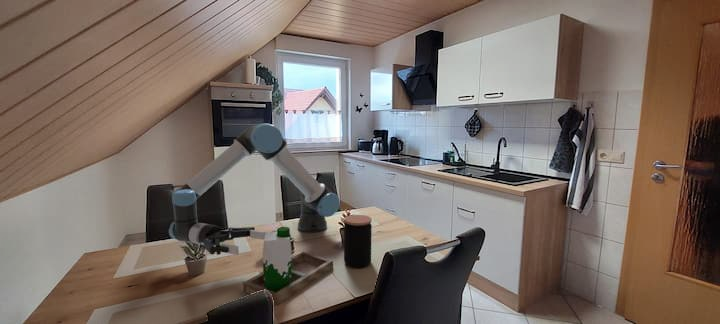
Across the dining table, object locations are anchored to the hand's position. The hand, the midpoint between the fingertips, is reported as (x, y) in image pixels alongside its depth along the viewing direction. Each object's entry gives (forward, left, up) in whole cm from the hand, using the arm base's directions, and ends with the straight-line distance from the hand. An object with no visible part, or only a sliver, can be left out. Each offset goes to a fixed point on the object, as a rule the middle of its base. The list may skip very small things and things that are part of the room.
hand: (252, 242), depth 104 cm
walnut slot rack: (-8, +11, -14) cm, 19 cm away
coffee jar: (-31, +24, -14) cm, 41 cm away
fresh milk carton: (-1, +11, -14) cm, 17 cm away
